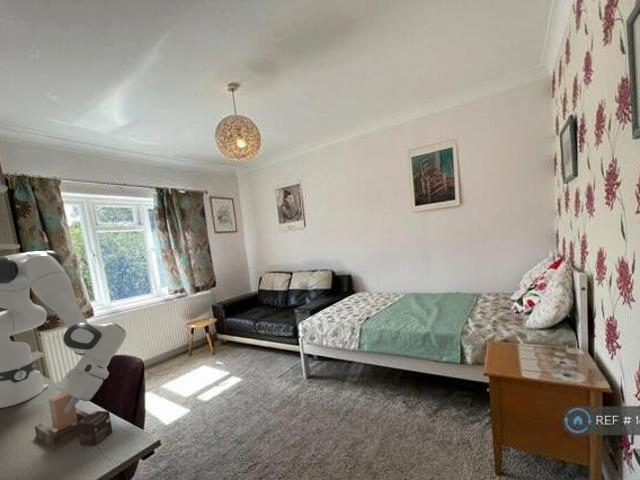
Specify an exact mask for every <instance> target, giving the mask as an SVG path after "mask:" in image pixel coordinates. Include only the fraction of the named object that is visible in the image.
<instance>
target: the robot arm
mask: <svg viewBox="0 0 640 480" xmlns="http://www.w3.org/2000/svg"><path fill="white" fill-rule="evenodd" d="M62 265H63V261H62V258H61V256H60V254H58V252H56V251H54V250H42V251H26V252H24V251H23V252H20V253H14V254H9V255H0V308H1V309H4V310H3V311H0V409H2V408H7V407H10V406H15V405H17V404H21V403H23V402H25V401H28V400H31V399H32V398H35V397H36V396H38V395H40V394H41V393H42V392H43V391H44V390H46V389H47V388H49V384H45V383H44V382H43V379H42V378H43V377H42V373H41V371H40V370H37V369H36V363H35V362H34V360H33V357H32V356H33V355H32V351H31V350H32V349H31V346H30V344H29V343H27V342H23V341H12V339H11V338H10V337H11V336H14V335H16V334H21V333H24V332H27V331H30V330H33V329H36V328H38V327H41V326H42V325H44V324H45V322H46V320H47V317H48V313H47V311H46V309H45V308H44V307H43V306H41V305H38V304H35V303H34V302H33V301H32V300H31V298H30V291H32V292H33V293H34V295H35V296H36V297H37V298H38V299H39V301H41V302H42V303H43V304H44V305H46V306H47V307H49V308H50V310H53V311H54V312H55V313H56V314H57V315H58V316H59V318H60V319H61V321H62V322H63V324H64V325H65V328H66V331H65V332H64V334H63V337H62V338H63V339H62V340H63V343H64V345H65V346H66V347H67V349H69V350H71V351H72V352H74V353H75V354H76V355H77V356H82V357H81V358H80V359H79V360H78V362H77V364H76V365H74V367H73V368H72V369H70V370H69V371H68V372H67V373H66V374H65V375H64V377H63V378H61V380H59V382H58V384H57V385H56V387H55V389H56V390H58V391H60V393H62V392H65V393H67V394H70V396H72V398H71V399H70V402H69V403H68V404H67V405H65V406H64V407H63V409H62V412H65V413H68V412H69V411H70V409H71V408H72V407H73V406H74V405H75V406H76V404H78V403H79V401H83V402H89V401H90V400H92V398H93V397H94V396H95V395H96V393H97V392H98V390H99V389H100V387H101V386H102V384H103V382H104V380H106V379H108V377H109V375H110V372H109V370H108V368H107V367H108V366H109V365H110V361H111V359H112V358H113V357H114V356H115V355H116V354H117V352H118V351H119V350H120V348H121V346H122V344H123V343H124V341H125V339H126V338H127V337H126V336H127V332H126V330H125V328H123V327H121V326H120V325H119V324H117V323H114V322H107V323H89V322H88V320H87V319H86V317H85V316H84V313H83V312H82V311H81V308H80V306H79V305H78V302H77V298H76V294H75V292H74V288H73V284H72V283H71V280H70V279H71V278H69V275H68V274H67V271H65V269H64V267H62ZM30 288H31V290H30ZM5 309H6V310H5Z"/></svg>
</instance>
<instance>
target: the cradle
mask: <svg viewBox="0 0 640 480" xmlns="http://www.w3.org/2000/svg"><path fill="white" fill-rule="evenodd" d="M75 409H76V415H77V422H75V423H73V424H71V425H69V426H67V427H66V428H64V429H62V430H60V431H58V430H57V429H55V428H53V424H52V425H50V426H48V427H47V426H45V425H44V424H43V423H41V422H40V423H37V424H36V425H34V431H35V436H36V437H37V438H38V439H39V440H41V441H42V442H43V443H45V444H46V445H47V446H49V447H50V448H52V449H53V450H56V449H59V448H60V447H62V446H64V445H66V444H68V443H70V442H71V441H73V440H75V439H77V438H79V432H78V427H77V423H78V422H79V421H81V420H82V419H84V418H85V417H86V416H88V415H90V414H91V413H88V412H86V411H84V410H82V409H79V408H78V407H76V406H75Z"/></svg>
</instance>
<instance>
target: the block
mask: <svg viewBox="0 0 640 480" xmlns="http://www.w3.org/2000/svg"><path fill="white" fill-rule="evenodd" d="M61 392H62V391H61ZM61 392H59V393H57V394H55V395H53V396H51V397H48V405H49V411H50V412H49V413H50V417H51V424H52V425H53V428H55V429H57V430H58V431H60V430H62V429H64V428H66V427H67V426H69V425H71V424H73V423H75V422H77V415H76V409H75V407H76V404H75V405H74V406H73V407H72V408H71V409H70V411H69V412H68V413H65V412H62V409H63V407H64V406H65V405H67V404H68V403H69V402H70V399H71V398H72V396H70V394H67V393H65V392H62V393H61Z"/></svg>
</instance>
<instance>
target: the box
mask: <svg viewBox="0 0 640 480" xmlns="http://www.w3.org/2000/svg"><path fill="white" fill-rule="evenodd" d="M89 414H90V415H88V416H86V417H85V418H84V419H82V420H81V421H79V422H78V423H77V427H78V432H79V436H78V438H79V439H78V440H79V445H80V446H93V447H96V446H97V445H98V444H100V443H101V442H103V441H104V440H105V439H106V438H108V437H109V436H110V435H112V433H113V427H112V421H111V416H110V411H108V410H107V411H106V410H104V411H103V410H96V411H93V412H91V413H89Z"/></svg>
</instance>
